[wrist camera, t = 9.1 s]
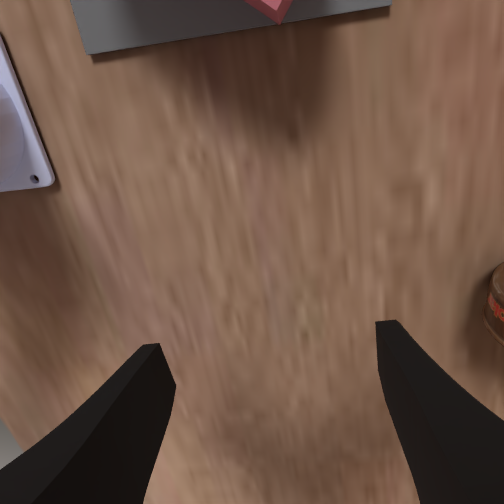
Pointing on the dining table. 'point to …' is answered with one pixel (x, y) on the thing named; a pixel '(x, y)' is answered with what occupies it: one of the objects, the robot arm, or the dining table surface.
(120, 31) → the mat
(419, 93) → the dining table surface
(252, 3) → the box
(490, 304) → the tin
